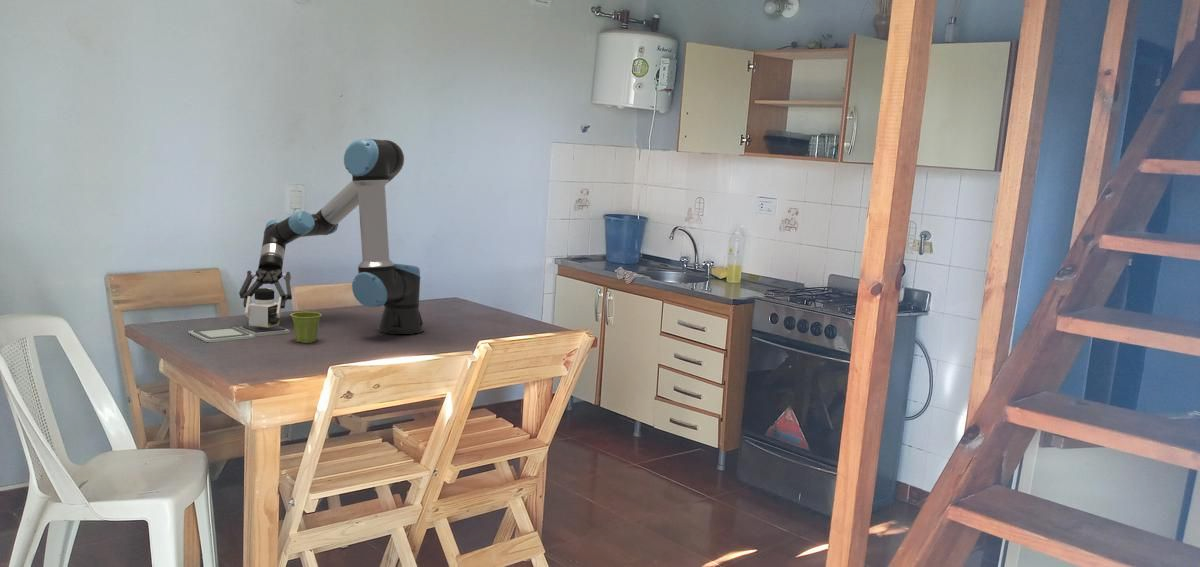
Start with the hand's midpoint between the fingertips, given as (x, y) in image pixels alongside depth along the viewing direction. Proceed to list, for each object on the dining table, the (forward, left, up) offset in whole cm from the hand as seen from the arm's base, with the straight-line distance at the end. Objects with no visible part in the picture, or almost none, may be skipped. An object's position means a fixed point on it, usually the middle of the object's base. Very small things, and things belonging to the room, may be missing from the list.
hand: (262, 315), depth 298 cm
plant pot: (-16, -7, -6) cm, 19 cm away
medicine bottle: (+3, -2, -4) cm, 5 cm away
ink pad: (+3, -2, -6) cm, 7 cm away
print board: (+3, +12, -6) cm, 14 cm away
